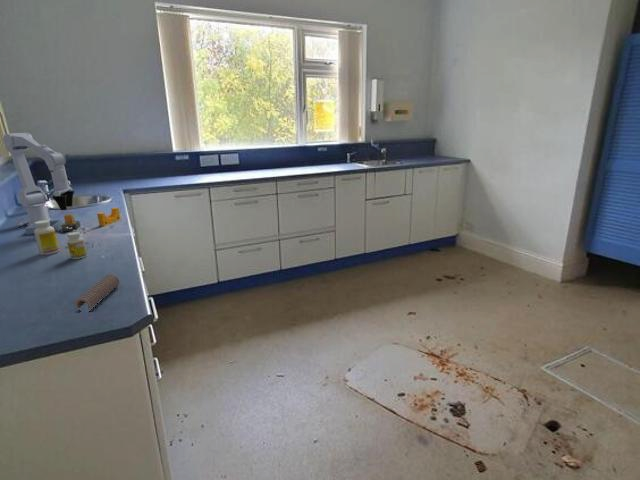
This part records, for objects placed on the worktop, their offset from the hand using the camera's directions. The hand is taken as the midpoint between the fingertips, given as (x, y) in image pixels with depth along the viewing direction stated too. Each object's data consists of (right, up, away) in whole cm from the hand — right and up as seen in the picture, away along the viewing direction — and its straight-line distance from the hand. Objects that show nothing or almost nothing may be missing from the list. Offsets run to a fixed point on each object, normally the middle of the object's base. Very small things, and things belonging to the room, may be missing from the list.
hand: (66, 208), depth 182 cm
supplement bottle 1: (+12, -20, -29) cm, 37 cm away
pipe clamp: (+14, -7, +12) cm, 19 cm away
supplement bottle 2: (+27, -22, -34) cm, 49 cm away
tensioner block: (+1, -10, +1) cm, 10 cm away
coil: (+54, -33, -67) cm, 93 cm away
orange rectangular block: (0, -9, +3) cm, 10 cm away
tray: (-11, -10, +1) cm, 15 cm away
